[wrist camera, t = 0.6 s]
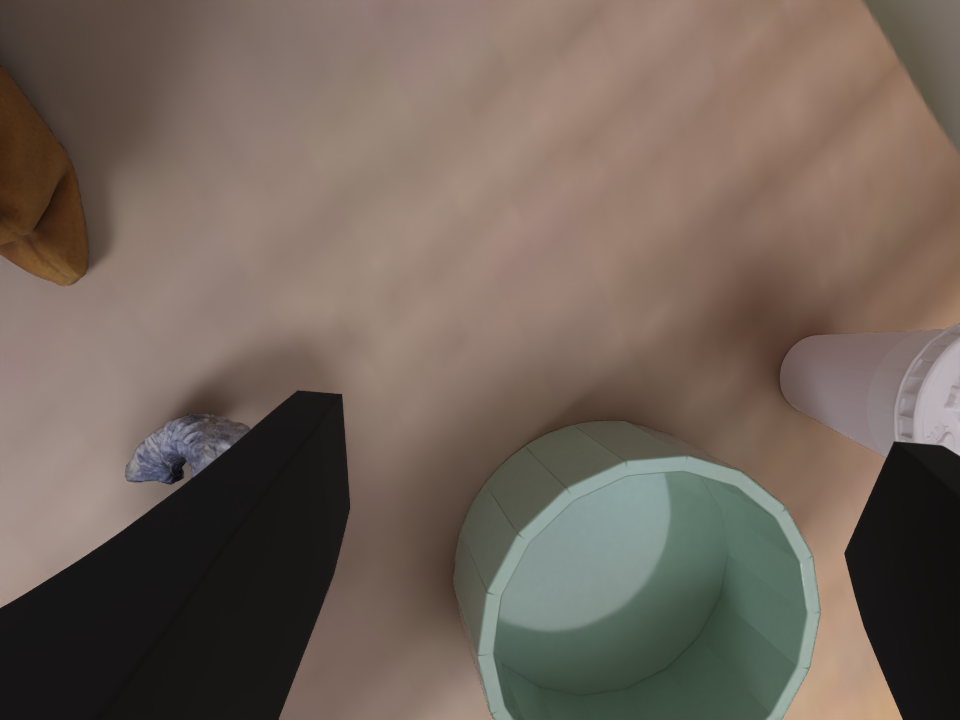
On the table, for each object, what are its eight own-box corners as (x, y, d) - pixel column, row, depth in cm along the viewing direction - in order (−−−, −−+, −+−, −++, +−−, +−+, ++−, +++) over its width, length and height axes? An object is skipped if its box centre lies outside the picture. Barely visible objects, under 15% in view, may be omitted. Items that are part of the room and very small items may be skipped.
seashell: (167, 414, 30) (300, 599, 32) (57, 489, 26) (220, 699, 28) (246, 373, 27) (387, 580, 29) (138, 451, 23) (313, 687, 25)
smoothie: (847, 458, 34) (1175, 584, 21) (732, 419, 33) (1002, 525, 19) (896, 331, 34) (1264, 373, 20) (782, 286, 33) (1091, 298, 19)
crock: (618, 750, 34) (678, 858, 28) (391, 602, 31) (401, 685, 25) (786, 528, 34) (884, 585, 28) (576, 360, 31) (632, 382, 25)
